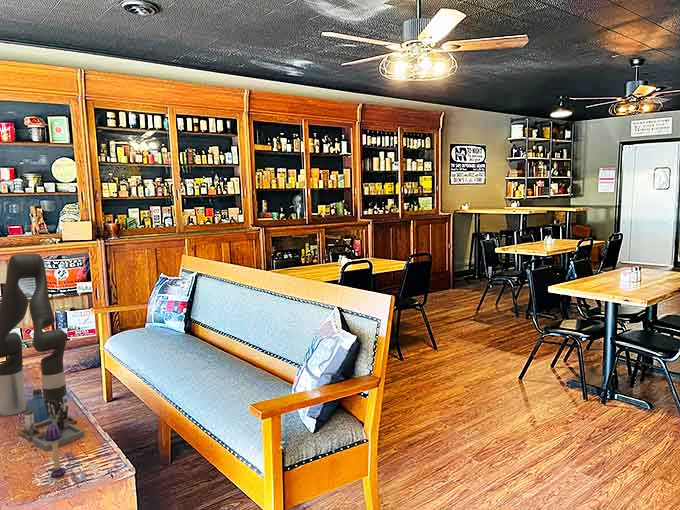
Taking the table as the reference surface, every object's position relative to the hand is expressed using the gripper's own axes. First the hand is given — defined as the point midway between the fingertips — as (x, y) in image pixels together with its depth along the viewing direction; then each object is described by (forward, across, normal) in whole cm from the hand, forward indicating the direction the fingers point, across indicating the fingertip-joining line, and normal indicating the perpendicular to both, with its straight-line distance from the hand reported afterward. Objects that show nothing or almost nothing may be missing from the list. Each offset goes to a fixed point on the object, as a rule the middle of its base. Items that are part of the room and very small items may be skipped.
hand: (58, 428), depth 188 cm
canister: (+4, -12, +8) cm, 15 cm away
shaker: (+2, 0, 0) cm, 2 cm away
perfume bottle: (+4, -25, +4) cm, 26 cm away
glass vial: (+4, -12, -5) cm, 14 cm away
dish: (+4, 0, 0) cm, 4 cm away
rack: (+4, -12, +2) cm, 13 cm away
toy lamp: (+5, +24, -12) cm, 27 cm away
